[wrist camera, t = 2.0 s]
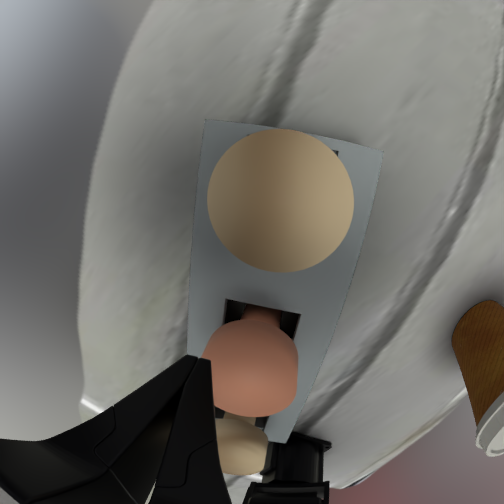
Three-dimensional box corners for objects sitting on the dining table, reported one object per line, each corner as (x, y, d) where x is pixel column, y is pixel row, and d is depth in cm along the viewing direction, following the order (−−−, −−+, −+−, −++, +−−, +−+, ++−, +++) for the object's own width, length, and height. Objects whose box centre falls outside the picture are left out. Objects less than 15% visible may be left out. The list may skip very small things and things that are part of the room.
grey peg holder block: (362, 149, 17) (383, 151, 13) (289, 404, 26) (285, 443, 22) (228, 124, 18) (205, 119, 13) (202, 385, 27) (187, 422, 22)
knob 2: (338, 145, 16) (367, 146, 9) (322, 228, 18) (334, 284, 11) (251, 129, 16) (216, 120, 9) (239, 213, 18) (200, 257, 11)
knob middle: (308, 286, 19) (308, 361, 12) (291, 345, 21) (283, 423, 14) (231, 270, 20) (196, 337, 13) (223, 331, 21) (194, 404, 15)
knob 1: (280, 380, 22) (270, 453, 16) (269, 414, 24) (257, 479, 18) (219, 367, 23) (194, 436, 16) (215, 403, 25) (194, 465, 18)
